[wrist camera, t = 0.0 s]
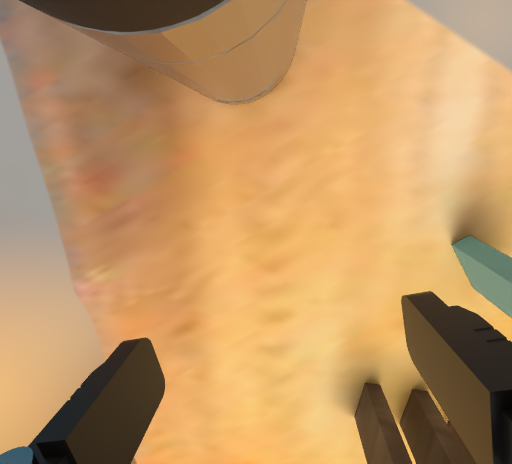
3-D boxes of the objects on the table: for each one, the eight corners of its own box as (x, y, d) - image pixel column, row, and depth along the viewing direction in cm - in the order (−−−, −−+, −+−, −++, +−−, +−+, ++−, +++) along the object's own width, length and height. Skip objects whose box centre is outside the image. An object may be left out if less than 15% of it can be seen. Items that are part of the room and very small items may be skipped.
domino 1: (354, 417, 32) (386, 533, 23) (365, 382, 31) (403, 493, 21) (368, 419, 32) (406, 536, 23) (380, 384, 31) (425, 496, 21)
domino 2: (399, 423, 32) (450, 543, 23) (412, 389, 31) (472, 503, 21) (413, 425, 32) (470, 546, 23) (427, 391, 31) (494, 506, 21)
